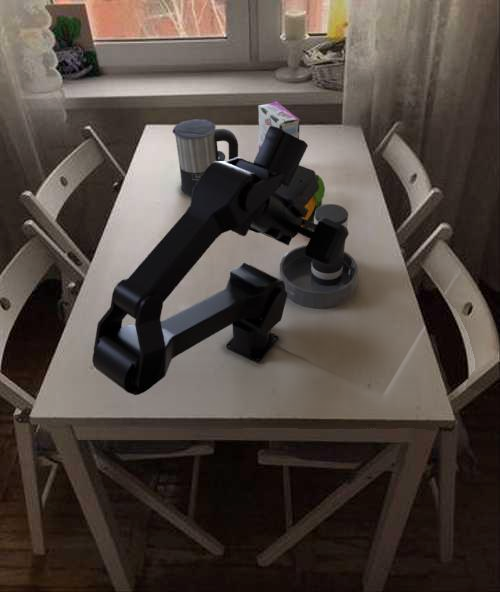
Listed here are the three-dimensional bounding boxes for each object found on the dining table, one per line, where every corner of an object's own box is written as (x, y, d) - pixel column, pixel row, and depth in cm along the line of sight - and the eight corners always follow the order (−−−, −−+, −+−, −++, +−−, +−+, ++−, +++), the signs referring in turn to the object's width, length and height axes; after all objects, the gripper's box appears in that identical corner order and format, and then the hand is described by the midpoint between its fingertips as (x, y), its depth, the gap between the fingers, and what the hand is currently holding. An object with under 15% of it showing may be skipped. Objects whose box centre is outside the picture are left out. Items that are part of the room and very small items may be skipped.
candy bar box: (298, 187, 131) (301, 119, 120) (279, 192, 129) (280, 124, 118) (276, 165, 138) (277, 100, 127) (258, 170, 137) (256, 104, 126)
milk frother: (189, 202, 127) (182, 141, 117) (163, 172, 137) (155, 113, 127) (246, 186, 132) (243, 125, 122) (216, 157, 142) (212, 100, 132)
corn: (328, 163, 123) (312, 213, 108) (328, 194, 128) (313, 246, 113) (294, 162, 125) (274, 211, 110) (296, 192, 129) (277, 243, 115)
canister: (333, 289, 103) (339, 226, 94) (305, 279, 105) (308, 216, 96) (346, 272, 106) (354, 209, 97) (319, 263, 109) (324, 200, 99)
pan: (334, 320, 97) (336, 303, 95) (265, 292, 103) (265, 275, 101) (368, 276, 106) (370, 259, 103) (302, 252, 112) (303, 236, 109)
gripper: (347, 179, 75) (379, 212, 88) (240, 140, 84) (284, 176, 98) (310, 255, 76) (347, 277, 89) (208, 208, 85) (256, 234, 98)
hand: (307, 238), depth 94 cm, fingers open, 9 cm apart
